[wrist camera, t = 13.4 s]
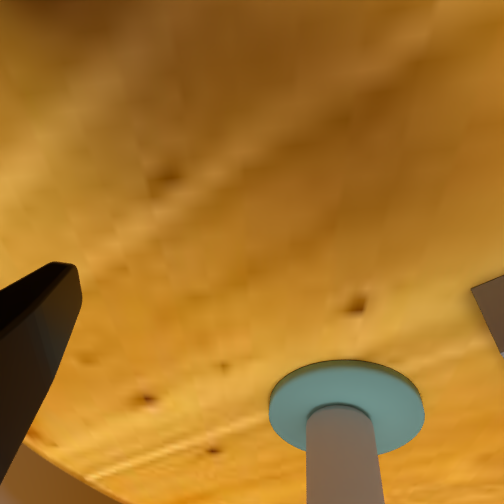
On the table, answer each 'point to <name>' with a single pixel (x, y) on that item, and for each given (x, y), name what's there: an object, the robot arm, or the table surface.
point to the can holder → (492, 308)
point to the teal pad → (348, 400)
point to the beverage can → (342, 458)
